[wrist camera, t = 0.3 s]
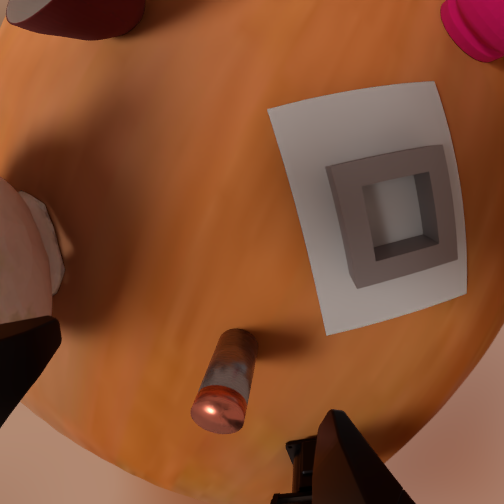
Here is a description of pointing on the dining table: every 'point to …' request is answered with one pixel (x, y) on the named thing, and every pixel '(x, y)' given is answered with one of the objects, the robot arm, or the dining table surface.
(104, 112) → the dining table surface
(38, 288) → the ceramic pitcher
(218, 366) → the pin
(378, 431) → the dining table surface
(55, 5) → the mug
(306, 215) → the grey plate with socket
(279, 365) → the dining table surface
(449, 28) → the pepper mill
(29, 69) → the dining table surface
